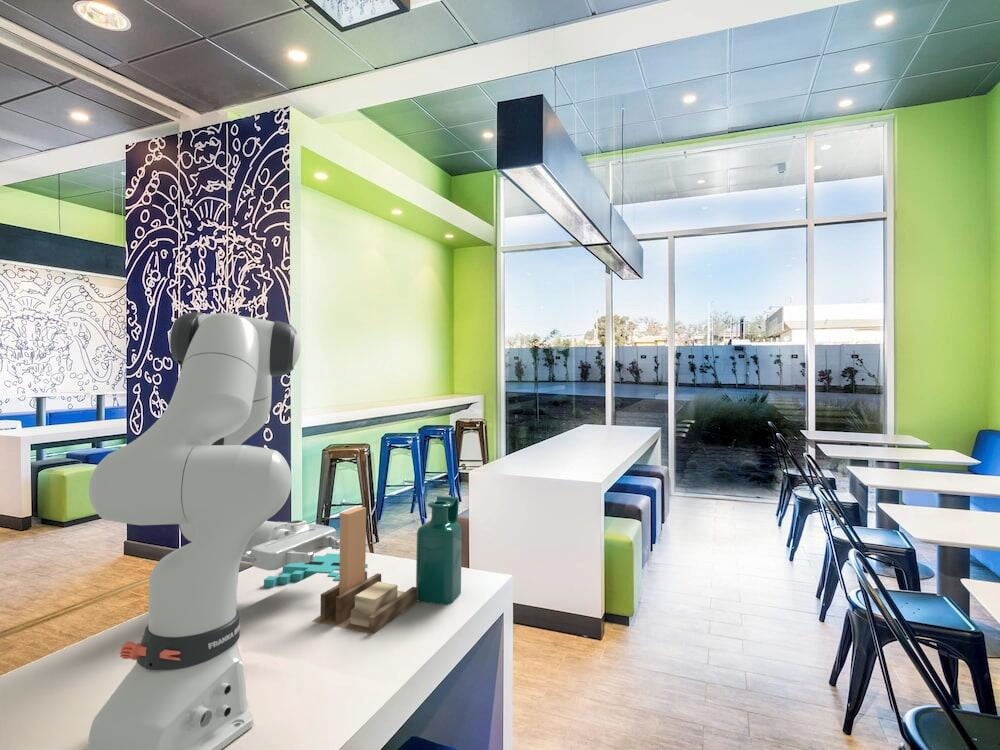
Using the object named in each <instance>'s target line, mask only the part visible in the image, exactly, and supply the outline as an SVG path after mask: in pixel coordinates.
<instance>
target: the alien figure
mask: <svg viewBox="0 0 1000 750" xmlns="http://www.w3.org/2000/svg"><path fill="white" fill-rule="evenodd" d="M368 565H369V564H368V563H365V569H369V568H368ZM339 567H340V553H330V552H329V553H325V555H314V556H313V561H311V562H309V563H303V562H300V563H291V564H289V565H286V566H284V567H282V573H281V574H280V575H278V576H274V575H273V576H272V575H269V576H267V577H266V578H264V580H263V588H275V587H276V586H277V585H286V584H287V585H288V584H290V583H291V582H301V581H303V580H304V579H307V578H310V577H312V576H314V575H316V574H319V573H320V574H328V575H327V577H328V578H329V577H330V578H333V579H332V581H337V582H339ZM336 571H338V572H336ZM337 585H339V583H338V584H337Z"/></svg>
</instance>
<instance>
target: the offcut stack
mask: <svg viewBox="0 0 1000 750" xmlns="http://www.w3.org/2000/svg"><path fill="white" fill-rule="evenodd" d="M404 592H405V591H402V590H398V584H394V583H387V582H382V581H381V582H377V583H375V584H374V585H372V586H370V587H369V588H367V589H365V590H364V591H362V592H360V593H359V594H357V595H355V608H354V609H352V610H351V624H355V625H360V626H365V627H369V617H370V616H371V615H372V614H374V613H375V612H377V611H378V610H380V609H381V608H383V607H384V606H386V605H387V604H388V603H390V602H391V601H393V600H394V599H396V598H397V597H399V596H400V595H402V594H403V593H404Z"/></svg>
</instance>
